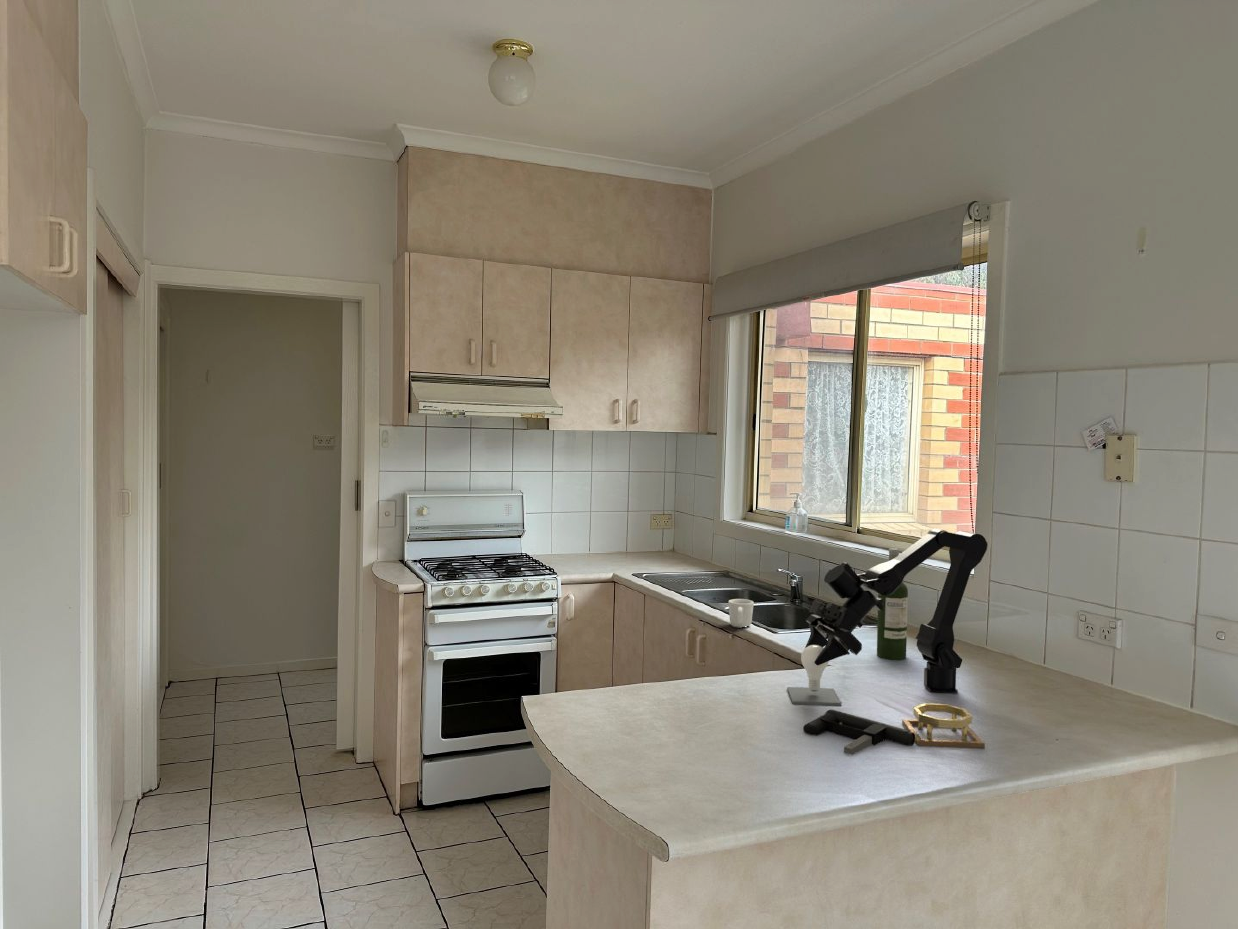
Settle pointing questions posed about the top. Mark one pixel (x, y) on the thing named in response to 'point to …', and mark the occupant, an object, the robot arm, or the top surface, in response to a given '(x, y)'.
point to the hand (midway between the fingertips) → (809, 660)
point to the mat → (813, 696)
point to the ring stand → (948, 723)
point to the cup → (740, 612)
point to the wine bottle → (893, 621)
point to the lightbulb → (813, 666)
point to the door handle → (858, 730)
